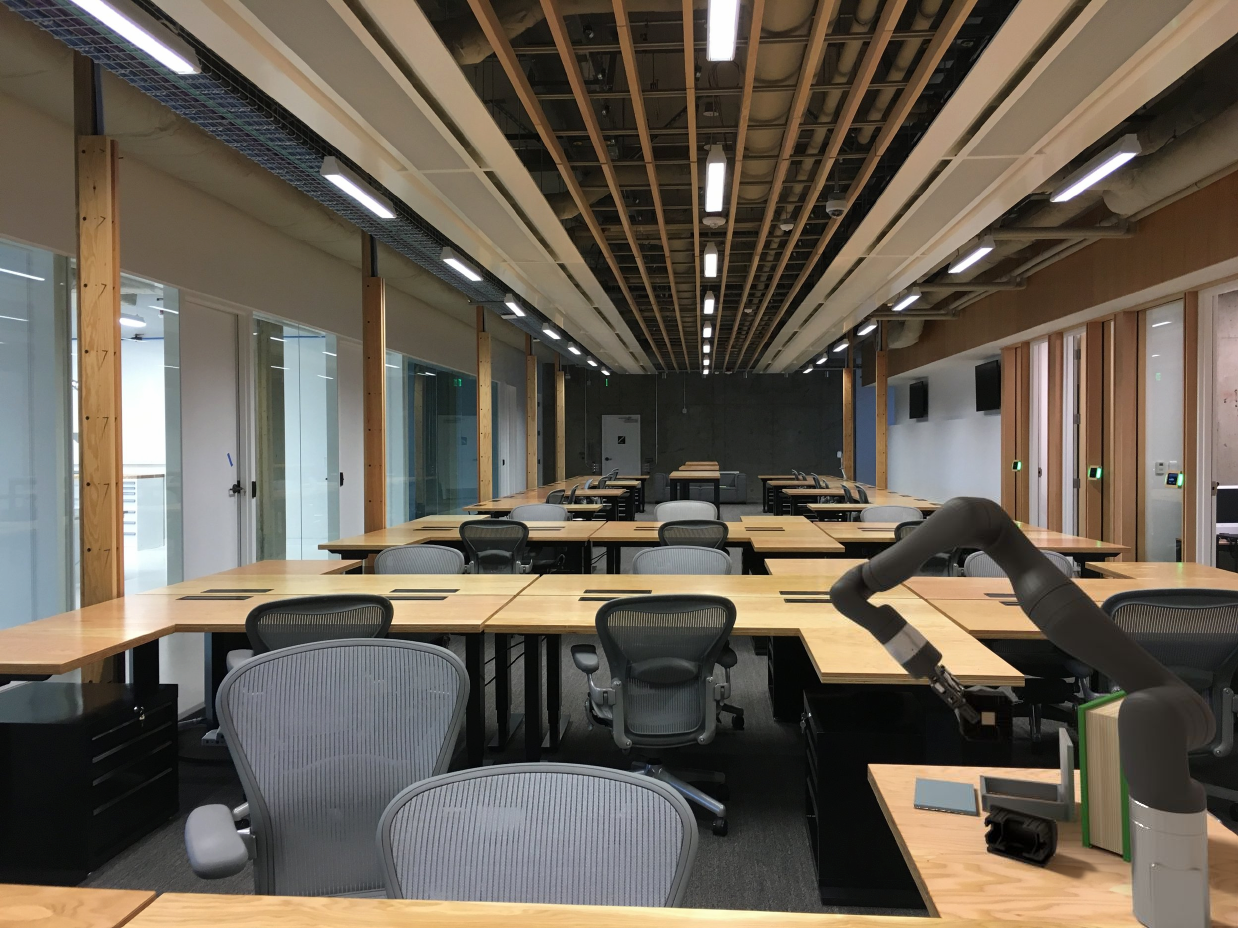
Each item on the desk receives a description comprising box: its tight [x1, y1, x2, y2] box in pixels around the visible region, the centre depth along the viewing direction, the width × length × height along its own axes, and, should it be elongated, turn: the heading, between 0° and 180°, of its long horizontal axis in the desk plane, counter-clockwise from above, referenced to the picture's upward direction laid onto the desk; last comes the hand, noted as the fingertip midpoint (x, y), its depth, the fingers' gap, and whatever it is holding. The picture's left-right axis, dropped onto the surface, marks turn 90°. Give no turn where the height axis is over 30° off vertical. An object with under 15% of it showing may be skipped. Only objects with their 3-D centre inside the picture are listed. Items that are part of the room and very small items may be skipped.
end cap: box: [983, 804, 1059, 869], centre depth 136 cm, size 10×7×7 cm
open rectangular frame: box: [979, 727, 1077, 823], centre depth 154 cm, size 11×16×14 cm
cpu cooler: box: [953, 684, 1014, 743], centre depth 158 cm, size 10×6×10 cm, turn 81°
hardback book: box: [1077, 689, 1131, 864], centre depth 139 cm, size 18×7×24 cm, turn 124°
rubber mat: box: [913, 777, 977, 816], centre depth 159 cm, size 14×11×1 cm
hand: (976, 715), depth 157 cm, fingers closed on cpu cooler, 6 cm apart
